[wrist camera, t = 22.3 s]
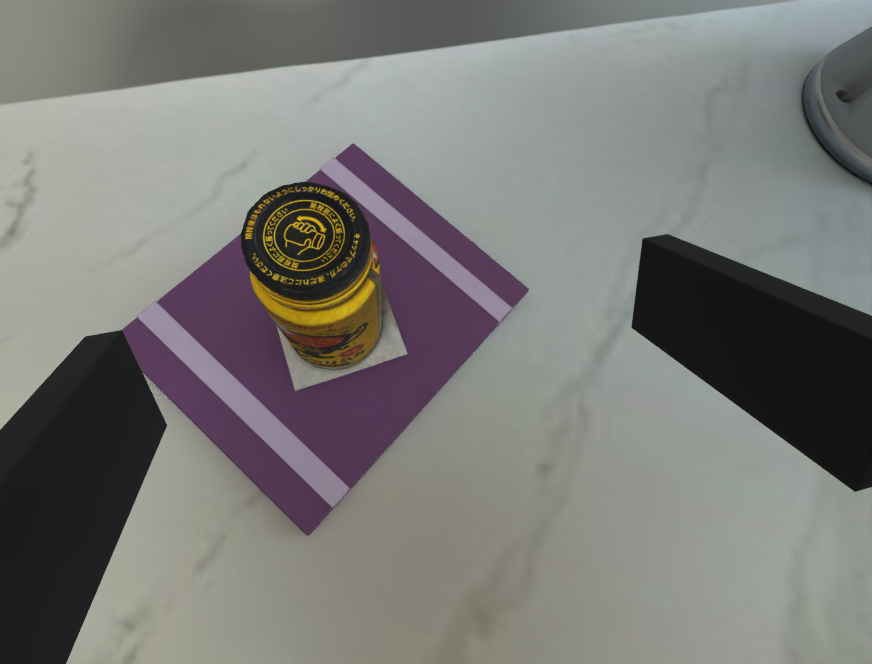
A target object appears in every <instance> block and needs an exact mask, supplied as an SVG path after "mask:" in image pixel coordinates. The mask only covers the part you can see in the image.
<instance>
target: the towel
mask: <svg viewBox="0 0 872 664" xmlns="http://www.w3.org/2000/svg"><path fill="white" fill-rule="evenodd" d="M306 182H313V183H317V184H322V185H326V186H329V187H331V188H334V189H337V190H340V191H341V192H344V193H345V194H347V195H348V196H349V197H350V198H352V199H353V201H354V202H356V203H357V204H358V207H359V208H360V210H361V211H362V212H363V213H364V215H365V219H366V220H367V223H368V224H369V231H370V236H371V238H372V239H373V242H374V244H375V246H376V248H377V252H378V256H379V259H380V271H381V281H382V284H383V287H384V290H385V293H386V295H387V298H388V301H389V304H390V307H391V310H392V312H393V315H394V318H395V321H396V324H397V326H398V329H399V332H400V335H401V337H402V340H403V343H404V346H405V348H406V351H407V354H406V355H403V356H400V357H397V358H394V359H391V360H388V361H384V362H382V363H379V364H376V365H374V366H371V367H368V368H364V369H362V370H358V371H355V372H352V373H350V374H347V375H343V376H340V377H337V378H334V379H331V380H328V381H325V382H321V383H318V384H316V385H312V386H309V387H306V388H303V389H300V390H296V391H295V389H294V385H293V382H292V378H291V374H290V371H289V368H288V364H287V360H286V357H285V353H284V350H283V347H282V343H281V339H280V336H279V333H278V329H277V326H276V324H275V323H274V321H273V319H272V318H271V316H270V315H269V314H268V312H267V310H265V308H264V306H263V304H262V303H261V302H260V301H259V300H258V298H257V296H256V294H255V291H254V290H253V286H252V283H251V280H250V270H249V267H248V266H247V265H246V262H245V260H244V259H245V257H244V255H243V252H242V249H241V246H242V245H241V234H240V235H239V236H238V237H236V238H235V239H234V240H233V241H232V242H230V243H229V244H228V245H227V246H225V247H224V248H223V249H222V250H220V251H219V252H218V253H217V254H215V255H214V256H213V257H212V258H210V259H209V260H208V261H207V262H205V263H204V264H203V265H202V266H201V267H199V268H198V269H197V270H196V271H194V272H193V273H192V274H191V275H189V276H188V277H187V278H186V279H184V280H183V281H182V282H181V283H179V284H178V285H177V286H176V287H175V288H173V289H172V290H171V291H170V292H168V293H167V294H166V295H165V296H163V297H162V298H161V299H160V300H158V301H157V302H156V301H155V302H154V303H153V304H152V305H150V306H149V307H148V308H147V309H145V310H144V311H143V312H142V313H140V314H139V315H138V316H137V318H136V319H135V320H134V321H132V322H131V323H130V324H129V325H127V326H126V327H125V328H124V329H122V331H123V333H124V335H125V337H126V339H127V341H128V343H129V346H130V348H131V350H132V352H133V354H134V356H135V358H136V360H137V363H138V365H139V367H140V369H141V371H142V372H143V373H144V374H145V375H146V376H147V377H148V378H149V379H150V380H151V381H152V382H153V383H154V384H155V385H156V386H157V387H158V388H159V389H160V390H161V391H162V392H163V393H164V394H165V395H166V396H167V397H168V398H169V399H170V400H171V401H172V402H173V403H174V404H175V405H176V406H177V407H178V408H179V409H180V410H181V411H182V412H183V413H184V414H185V415H186V416H187V417H188V418H189V419H190V420H191V421H192V422H193V423H194V424H195V425H196V426H197V427H198V428H199V429H200V430H201V431H202V432H203V433H204V434H205V435H206V436H207V437H208V438H209V439H210V440H211V441H212V442H213V443H214V444H215V445H216V446H217V447H218V448H219V449H220V450H221V451H222V452H223V453H224V454H225V455H226V456H227V457H228V458H229V459H230V460H231V461H233V462H234V463H235V464H236V465H237V466H238V467H239V468H240V469H241V470H242V471H243V472H244V473H245V474H246V475H247V476H248V477H249V478H250V479H251V480H252V481H253V482H254V483H255V484H256V485H257V486H258V487H259V488H260V489H261V490H262V491H263V492H264V493H265V494H266V495H267V496H268V497H269V498H270V499H271V500H272V501H273V502H274V503H275V504H276V505H277V506H278V507H279V508H280V509H281V510H282V511H283V512H284V513H285V514H286V515H287V516H288V517H289V518H290V519H291V520H292V521H293V522H294V523H295V524H296V525H297V526H298V527H299V528H300V529H301V530H302V531H303V532H304V533H305V534H306V535H307V536H308V535H309V534H310V533H311V532H312V531H313V530H314V529H315V528H316V527H317V526H318V525H319V523H320V522H321V521H322V520H323V519H324V518H325V517H326V516H327V515H328V513H329V512H330V511H331V510H332V509H333V508H334V507H335V506H336V504H337V503H338V502H339V501H340V500H341V499H342V498H343V497H344V496H345V494H346V493H347V492H348V491H349V490H350V489H351V488H352V487H353V486H354V484H355V483H356V482H357V481H358V480H359V479H360V478H361V477H362V476H363V474H364V473H365V472H366V471H367V470H368V469H369V468H370V467H371V466H372V464H373V463H374V462H375V461H376V460H377V459H378V458H379V457H380V455H381V454H382V453H383V452H384V451H385V450H386V449H387V448H388V447H389V445H390V444H391V443H392V442H393V441H394V440H395V439H396V438H397V437H398V435H399V434H400V433H401V432H402V431H403V430H404V429H405V428H406V427H407V425H408V424H409V423H410V422H411V421H412V420H413V419H414V418H415V416H416V415H417V414H418V413H419V412H420V411H421V410H422V409H423V408H424V406H425V405H426V404H427V403H428V402H429V401H430V400H431V399H432V398H433V396H434V395H435V394H436V393H437V392H438V391H439V390H440V389H441V388H442V386H443V385H444V384H445V383H446V382H447V381H448V380H449V379H450V377H451V376H452V375H453V374H454V373H455V372H456V371H457V370H458V369H459V367H460V366H461V365H462V364H463V363H464V362H465V361H466V360H467V359H468V357H469V356H470V355H471V354H472V353H473V352H474V351H475V350H476V349H477V347H478V346H479V345H480V344H481V343H482V342H483V341H484V340H485V338H486V337H487V336H488V335H489V334H490V333H491V332H492V331H493V330H494V328H495V327H496V326H497V325H498V324H499V323H500V322H501V321H502V320H503V318H504V317H505V316H506V315H507V314H508V313H509V312H510V311H511V310H512V308H513V307H514V306H515V305H516V304H517V303H518V302H519V301H520V300H521V298H522V297H523V296H524V295H525V294H526V293H527V292H528V290H529V289H528V288H527V287H526V286H524V285H523V284H522V283H521V282H520V281H518V280H517V279H516V278H515V277H514V276H512V275H511V274H510V273H509V272H508V271H506V270H505V269H504V268H503V267H502V266H500V265H499V264H498V263H497V262H496V261H494V260H493V259H492V258H491V257H490V256H488V255H487V254H486V253H485V252H484V251H482V250H481V249H480V248H479V247H478V246H476V245H475V244H474V243H473V242H472V241H470V240H469V239H468V238H467V237H466V236H464V235H463V234H462V233H461V232H460V231H458V230H457V229H456V228H455V227H454V226H452V225H451V224H450V223H449V222H448V221H446V220H445V219H444V218H443V217H442V216H440V215H439V214H438V213H437V212H436V211H434V210H433V209H432V208H431V207H429V206H428V205H427V204H426V203H425V202H423V201H422V200H421V199H420V198H419V197H417V196H416V195H415V194H414V193H413V192H411V191H410V190H409V189H408V188H407V187H405V186H404V185H403V184H402V183H401V182H399V181H398V180H397V179H396V178H395V177H393V176H392V175H391V174H390V173H389V172H387V171H386V170H385V169H384V168H383V167H381V166H380V165H379V164H378V163H377V162H375V161H374V160H373V159H372V158H371V157H369V156H368V155H367V154H366V153H365V152H363V151H362V150H361V149H360V148H359V147H357V146H356V145H355V144H354V143H353V144H352V145H351V146H349V147H348V148H347V149H346V150H344V151H343V152H342V153H341V154H339V155H338V156H337V157H336V158H333V159H332V160H330V161H329V162H328V163H327V164H325V165H324V166H323V167H322V168H320V171H318V172H317V173H316V174H315V175H313V176H312V177H311V178H310V179H308V180H307V181H306Z"/></svg>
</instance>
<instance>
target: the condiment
mask: <svg viewBox="0 0 872 664" xmlns="http://www.w3.org/2000/svg"><path fill="white" fill-rule="evenodd" d="M241 245H242V246H241V249H242V252H243V255H244V257H245V259H244V260H245V262H246V265H247V266H248V267H249V270H250V280H251V283H252V286H253V290H254V291H255V294H256V296H257V298H258V300H259V301H260V302H261V303H262V304H263V306H264V308H265V310H267V312H268V314H269V315H270V316H271V318H272V319H273V321H274V323H275V324H276V326H277V329H278V333H279V336H280V339H281V343H282V347H283V350H284V353H285V357H286V360H287V364H288V368H289V371H290V374H291V378H292V382H293V385H294V389H295V391H296V390H300V389H303V388H306V387H309V386H312V385H316V384H318V383H321V382H325V381H328V380H331V379H334V378H337V377H340V376H343V375H347V374H350V373H352V372H355V371H358V370H362V369H364V368H368V367H371V366H374V365H376V364H379V363H382V362H384V361H388V360H391V359H394V358H397V357H400V356H403V355H406V354H407V351H406V348H405V346H404V343H403V340H402V337H401V335H400V332H399V329H398V326H397V324H396V321H395V318H394V315H393V312H392V310H391V307H390V304H389V301H388V298H387V295H386V293H385V290H384V287H383V284H382V281H381V271H380V259H379V256H378V252H377V248H376V246H375V244H374V242H373V239H372V238H371V236H370V231H369V224H368V223H367V220H366V219H365V215H364V213H363V212H362V211H361V210H360V208H359V207H358V204H357V203H356V202H354V201H353V199H352V198H350V197H349V196H348V195H347V194H345V193H344V192H341V191H340V190H337V189H334V188H331V187H329V186H326V185H322V184H317V183H313V182H300V183H293V184H290V185H283V186H281V187H279V188H277V189H274V190H272V191H270V192H268V193H267V194H265V195H263V196H262V197H261V199H260V200H259V201H258V202H256V203H255V205H254V206H253V207H252V208H251V209H250V210H249V211H248V213H247V217H246V220H245V223H244V226H243V230H242V232H241Z"/></svg>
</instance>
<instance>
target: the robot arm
mask: <svg viewBox="0 0 872 664" xmlns="http://www.w3.org/2000/svg"><path fill="white" fill-rule="evenodd" d="M804 106H805V111H806V114H807V117H808V120H809V122H810V125H811V127H812V129H813V130H814V132H815V134H816V135H817V137H818V138H819V140H820V141H821V143H822V144H823V145H824V146H825V148H826V149H827V150H828V151H829V152H830V153H831V154H832V155H833V156H834V157H835V158H836V159H837V160H838V161H839V162H840V163H841V164H843V165H844V166H845V167H846V168H848V169H849V170H851V171H852V172H853V173H855V174H857V175H858V176H860V177H862V178H863V179H865V180H867V181H869V182H871V183H872V27H870V28H869V29H867V30H865V31H864V32H862V33H860V34H858V35H857V36H855V37H853V38H851V39H850V40H848V41H846V42H845V43H843V44H842V45H840V46H838V47H837V48H835V49H834V50H833V51H832V52H830V53H829V54H828V55H827V56H826V57H825V58H824V59H823V60H822V61H821V62H820V63H819V64H818V65H817V66H816V67H815V68H814V69H813V70H812V71H811V73H810V74H809V76H808V78H807V80H806V83H805V87H804ZM632 328H633V329H634V330H635V331H637V332H638V333H640V334H641V335H642V336H644V337H645V338H646V339H648V340H649V341H650V342H652V343H653V344H655V345H656V346H657V347H659V348H660V349H661V350H663V351H664V352H665V353H667V354H668V355H669V356H671V357H672V358H674V359H675V360H676V361H678V362H679V363H680V364H682V365H683V366H684V367H686V368H687V369H689V370H690V371H691V372H693V373H694V374H695V375H697V376H698V377H699V378H701V379H702V380H704V381H705V382H706V383H708V384H709V385H710V386H712V387H713V388H714V389H716V390H717V391H719V392H720V393H721V394H723V395H724V396H725V397H727V398H728V399H729V400H731V401H732V402H733V403H735V404H736V405H738V406H739V407H740V408H742V409H743V410H744V411H746V412H747V413H748V414H750V415H751V416H753V417H754V418H755V419H757V420H758V421H759V422H761V423H762V424H763V425H765V426H766V427H768V428H769V429H770V430H772V431H773V432H774V433H776V434H777V435H778V436H780V437H781V438H783V439H784V440H785V441H787V442H788V443H789V444H791V445H792V446H793V447H795V448H796V449H798V450H799V451H800V452H802V453H803V454H804V455H806V456H807V457H808V458H810V459H811V460H812V461H814V462H815V463H817V464H818V465H819V466H821V467H822V468H823V469H825V470H826V471H827V472H829V473H830V474H832V475H833V476H834V477H836V478H837V479H838V480H840V481H841V482H842V483H844V484H845V485H847V486H848V487H849V488H851V489H852V490H853V491H855V492H856V491H859V490H863V489H866V488H869V487H872V316H871V315H868V314H866V313H863V312H861V311H858V310H856V309H853V308H851V307H848V306H846V305H843V304H841V303H838V302H836V301H833V300H831V299H828V298H826V297H823V296H821V295H818V294H816V293H813V292H811V291H808V290H806V289H803V288H801V287H798V286H796V285H793V284H791V283H788V282H786V281H783V280H781V279H778V278H776V277H773V276H771V275H768V274H766V273H763V272H761V271H758V270H756V269H753V268H751V267H748V266H746V265H743V264H741V263H738V262H736V261H733V260H731V259H728V258H726V257H723V256H721V255H718V254H716V253H713V252H711V251H708V250H706V249H703V248H701V247H698V246H696V245H693V244H691V243H688V242H686V241H683V240H681V239H678V238H676V237H673V236H671V235H668V234H666V235H660V236H655V237H649V238H643V240H642V248H641V256H640V264H639V272H638V280H637V288H636V296H635V304H634V312H633V320H632ZM166 426H167V424H166V422H165V420H164V418H163V416H162V414H161V411H160V409H159V407H158V405H157V403H156V401H155V399H154V397H153V394H152V392H151V390H150V388H149V386H148V384H147V382H146V380H145V377H144V375H143V373H142V371H141V369H140V367H139V365H138V363H137V360H136V358H135V356H134V354H133V352H132V350H131V348H130V346H129V343H128V341H127V339H126V337H125V335H124V333H123V331H122V330H120V331H115V332H109V333H103V334H98V335H92V336H86V337H84V339H83V340H82V341H81V342H80V343H79V344H78V345H77V346H76V347H75V348H74V350H73V351H72V352H71V353H70V354H69V355H68V356H67V357H66V358H65V359H64V361H63V362H62V363H61V364H60V365H59V366H58V367H57V368H56V369H55V370H54V372H53V373H52V374H51V375H50V376H49V377H48V378H47V379H46V380H45V381H44V383H43V384H42V385H41V386H40V387H39V388H38V389H37V390H36V391H35V392H34V394H33V395H32V396H31V397H30V398H29V399H28V400H27V401H26V402H25V403H24V404H23V406H22V407H21V408H20V409H19V410H18V411H17V412H16V413H15V414H14V415H13V417H12V418H11V419H10V420H9V421H8V422H7V423H6V424H5V425H4V426H3V428H2V429H1V430H0V664H66V662H67V660H68V658H69V655H70V653H71V650H72V648H73V646H74V643H75V641H76V639H77V636H78V634H79V632H80V629H81V627H82V625H83V622H84V620H85V617H86V615H87V613H88V610H89V608H90V606H91V603H92V601H93V599H94V596H95V594H96V592H97V589H98V587H99V584H100V582H101V580H102V577H103V575H104V573H105V570H106V568H107V566H108V563H109V561H110V559H111V556H112V554H113V551H114V549H115V547H116V544H117V542H118V540H119V537H120V535H121V533H122V530H123V528H124V525H125V523H126V521H127V518H128V516H129V514H130V511H131V509H132V507H133V504H134V502H135V500H136V497H137V495H138V492H139V490H140V488H141V485H142V483H143V481H144V478H145V476H146V474H147V471H148V469H149V467H150V464H151V462H152V459H153V457H154V455H155V452H156V450H157V448H158V445H159V443H160V441H161V438H162V436H163V434H164V431H165V429H166Z"/></svg>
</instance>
